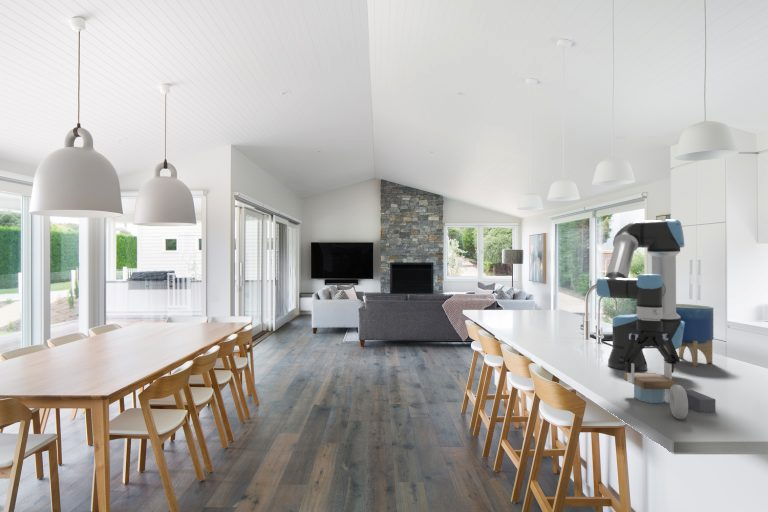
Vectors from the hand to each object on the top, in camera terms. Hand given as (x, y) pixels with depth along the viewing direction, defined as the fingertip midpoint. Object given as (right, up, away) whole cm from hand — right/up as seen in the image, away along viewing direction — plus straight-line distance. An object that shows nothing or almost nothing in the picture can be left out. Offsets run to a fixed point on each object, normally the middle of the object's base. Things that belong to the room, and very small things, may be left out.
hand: (649, 382), depth 147 cm
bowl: (0, -6, 0) cm, 6 cm away
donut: (-2, -6, -18) cm, 19 cm away
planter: (+52, -7, +56) cm, 77 cm away
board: (0, -1, 0) cm, 1 cm away
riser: (+10, -6, -8) cm, 14 cm away
